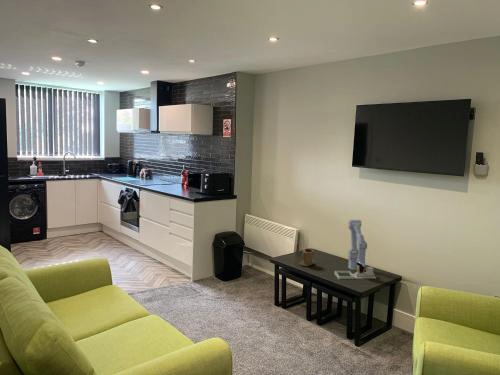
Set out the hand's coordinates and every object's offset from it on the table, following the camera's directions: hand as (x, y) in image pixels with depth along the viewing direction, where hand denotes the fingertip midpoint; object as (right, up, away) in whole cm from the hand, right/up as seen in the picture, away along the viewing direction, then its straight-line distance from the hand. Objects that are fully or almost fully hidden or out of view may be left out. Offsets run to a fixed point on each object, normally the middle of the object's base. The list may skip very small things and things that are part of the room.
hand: (360, 271), depth 318 cm
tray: (-14, -4, 0) cm, 14 cm away
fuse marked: (0, -2, 0) cm, 2 cm away
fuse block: (+3, -4, +1) cm, 5 cm away
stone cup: (-40, 0, +28) cm, 48 cm away
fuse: (+7, -4, +1) cm, 8 cm away
